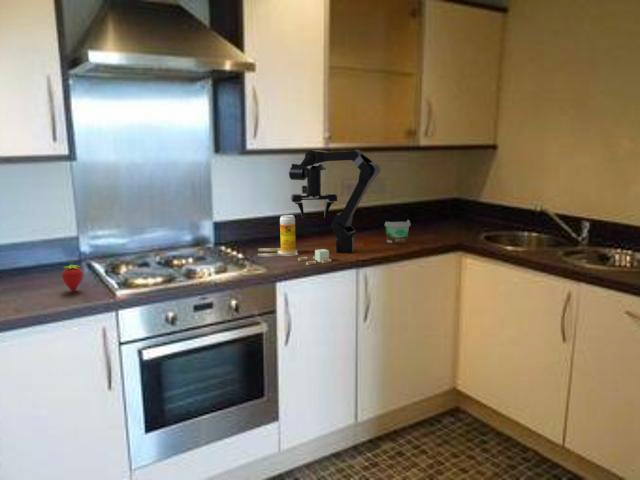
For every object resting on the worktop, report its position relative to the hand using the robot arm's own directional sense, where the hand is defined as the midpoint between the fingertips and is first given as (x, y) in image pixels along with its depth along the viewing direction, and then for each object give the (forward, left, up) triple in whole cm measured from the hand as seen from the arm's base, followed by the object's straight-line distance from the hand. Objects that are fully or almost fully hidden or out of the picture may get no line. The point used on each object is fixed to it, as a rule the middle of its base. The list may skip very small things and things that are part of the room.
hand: (314, 218), depth 232 cm
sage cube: (-8, +20, -13) cm, 26 cm away
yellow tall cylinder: (+8, +11, -13) cm, 19 cm away
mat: (+8, +11, -13) cm, 19 cm away
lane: (+13, +12, -13) cm, 22 cm away
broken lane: (-6, +22, -13) cm, 27 cm away
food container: (-34, -18, -13) cm, 41 cm away
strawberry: (+57, +79, -13) cm, 98 cm away
